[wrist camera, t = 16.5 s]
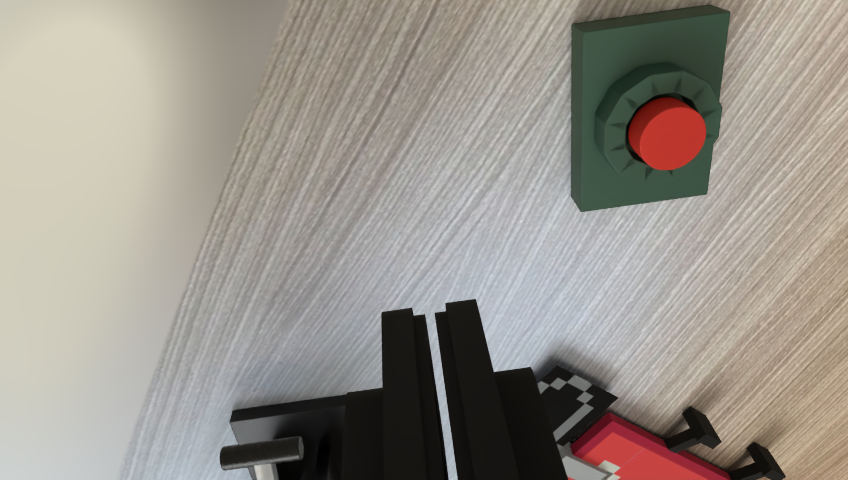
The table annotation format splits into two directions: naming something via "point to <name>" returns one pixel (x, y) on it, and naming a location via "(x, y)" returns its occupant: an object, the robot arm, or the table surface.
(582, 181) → the button box
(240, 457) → the tap lever
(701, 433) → the red board with handle
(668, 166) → the button
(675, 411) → the table surface
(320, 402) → the bracket
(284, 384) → the table surface
